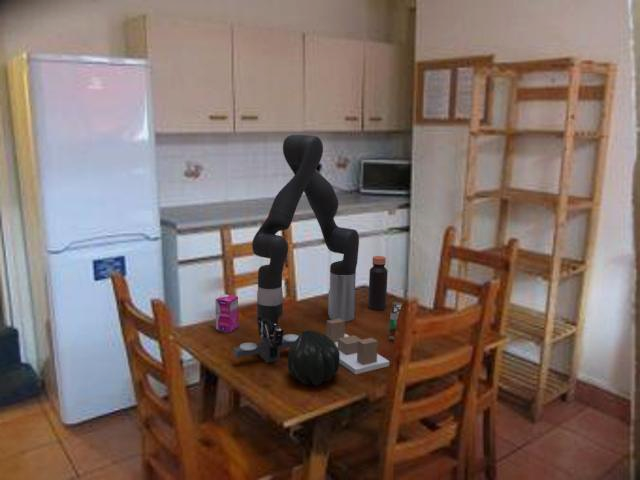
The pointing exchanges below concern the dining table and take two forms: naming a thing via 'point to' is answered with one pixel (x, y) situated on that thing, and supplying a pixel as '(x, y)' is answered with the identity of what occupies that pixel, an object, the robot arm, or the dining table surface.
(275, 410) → the dining table surface
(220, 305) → the supplement box
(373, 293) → the bottle
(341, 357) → the display stand
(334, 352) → the squash
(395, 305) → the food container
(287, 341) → the grey white knobbed bar
